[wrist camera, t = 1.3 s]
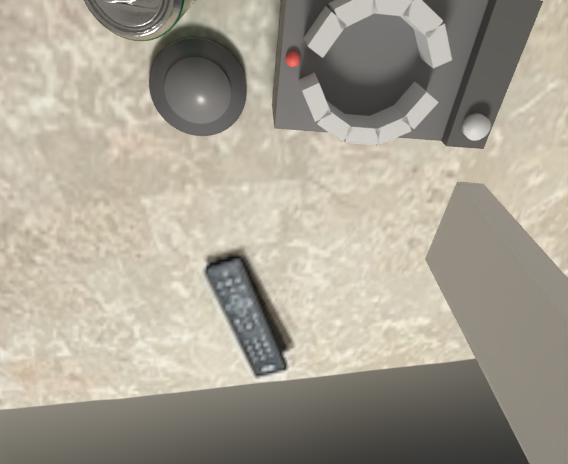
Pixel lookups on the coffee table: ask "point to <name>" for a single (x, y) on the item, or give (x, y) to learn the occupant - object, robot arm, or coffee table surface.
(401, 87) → the camera body
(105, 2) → the soda can
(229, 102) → the lens cap
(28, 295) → the coffee table surface
